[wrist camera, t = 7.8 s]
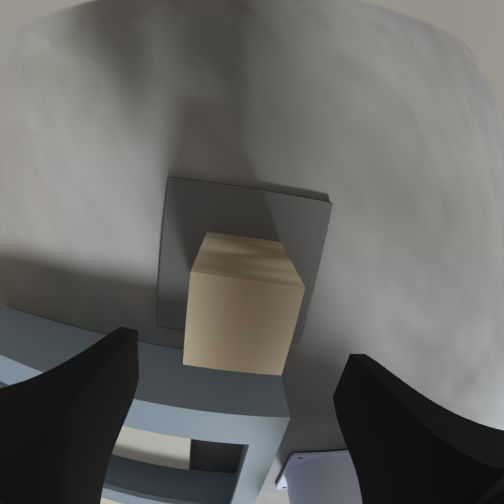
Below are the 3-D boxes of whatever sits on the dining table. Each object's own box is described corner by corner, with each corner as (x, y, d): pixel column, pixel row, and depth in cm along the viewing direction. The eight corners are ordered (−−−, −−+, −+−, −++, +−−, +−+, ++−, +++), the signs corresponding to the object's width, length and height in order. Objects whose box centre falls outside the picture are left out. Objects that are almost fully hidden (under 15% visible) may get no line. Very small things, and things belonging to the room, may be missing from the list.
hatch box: (278, 360, 22) (290, 417, 16) (243, 477, 27) (245, 520, 21) (5, 305, 19) (-34, 337, 14) (46, 434, 24) (28, 467, 18)
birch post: (280, 242, 18) (305, 287, 12) (267, 308, 20) (281, 375, 13) (207, 231, 18) (190, 271, 11) (198, 298, 19) (183, 364, 13)
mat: (330, 202, 18) (332, 203, 18) (297, 339, 21) (298, 343, 21) (170, 177, 18) (168, 177, 17) (158, 322, 20) (157, 325, 20)
